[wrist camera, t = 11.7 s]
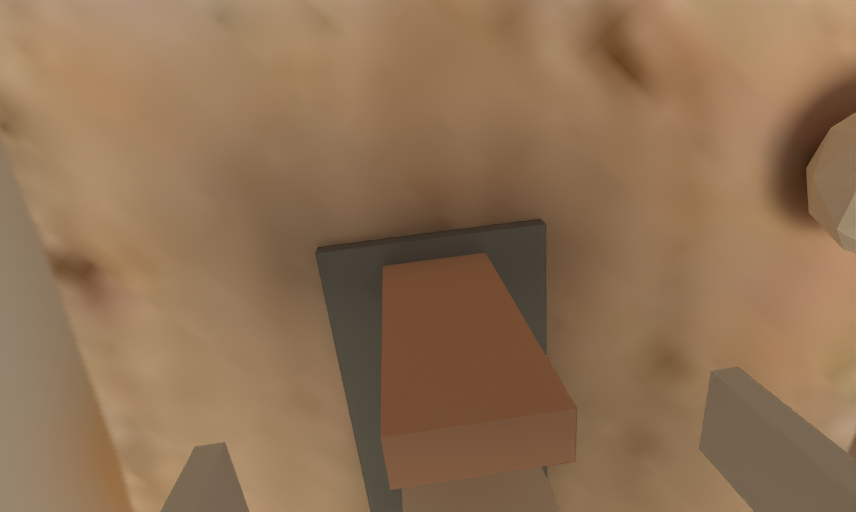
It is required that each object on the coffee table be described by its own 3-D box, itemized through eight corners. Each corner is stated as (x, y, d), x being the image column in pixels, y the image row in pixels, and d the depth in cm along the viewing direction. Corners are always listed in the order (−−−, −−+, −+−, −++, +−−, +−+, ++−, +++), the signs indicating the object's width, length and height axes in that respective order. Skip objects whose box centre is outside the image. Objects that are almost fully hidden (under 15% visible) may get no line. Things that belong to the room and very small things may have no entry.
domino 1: (487, 285, 22) (574, 461, 12) (387, 299, 22) (390, 489, 12) (485, 252, 21) (576, 408, 11) (382, 266, 21) (380, 437, 11)
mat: (543, 565, 32) (546, 576, 31) (390, 590, 31) (390, 602, 30) (540, 219, 22) (545, 224, 21) (317, 247, 21) (315, 253, 21)
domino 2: (492, 369, 24) (571, 582, 14) (400, 382, 24) (412, 608, 14) (490, 341, 23) (572, 543, 13) (396, 354, 23) (404, 570, 13)
